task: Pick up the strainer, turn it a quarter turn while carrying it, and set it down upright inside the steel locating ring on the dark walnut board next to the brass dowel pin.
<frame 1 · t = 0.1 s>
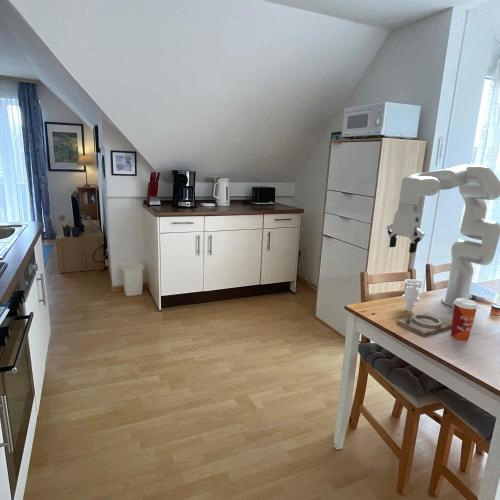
hand: (402, 249, 149), 31 cm above the table, tool pointing down, fingers open, 9 cm apart
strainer: (408, 310, 167), on the table
locating board: (425, 325, 152), on the table
coffee cup: (459, 337, 143), on the table
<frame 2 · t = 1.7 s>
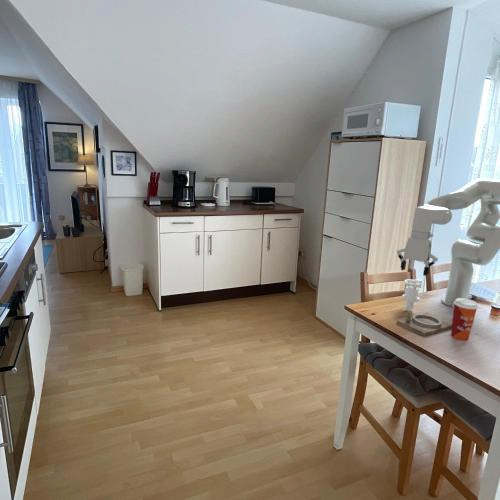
hand: (413, 272, 162), 18 cm above the table, tool pointing down, fingers open, 9 cm apart
nothing on the table moved.
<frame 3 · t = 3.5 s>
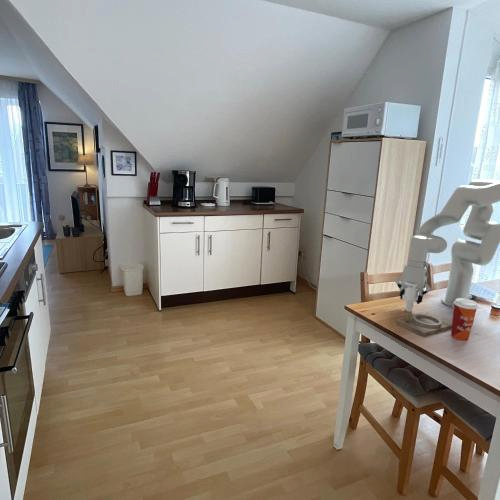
hand: (410, 300, 166), 5 cm above the table, tool pointing down, fingers closed on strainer, 6 cm apart
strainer: (408, 310, 167), on the table, touching gripper
everything else where it was.
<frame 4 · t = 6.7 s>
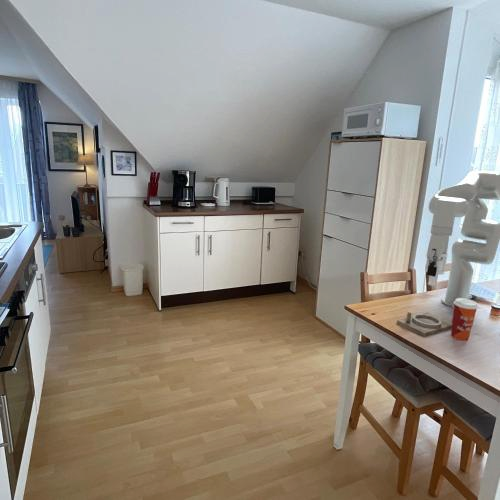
hand: (434, 273, 147), 23 cm above the table, tool pointing down, fingers closed on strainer, 6 cm apart
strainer: (432, 285, 148), point 18 cm above the table, touching gripper
everything else where it was.
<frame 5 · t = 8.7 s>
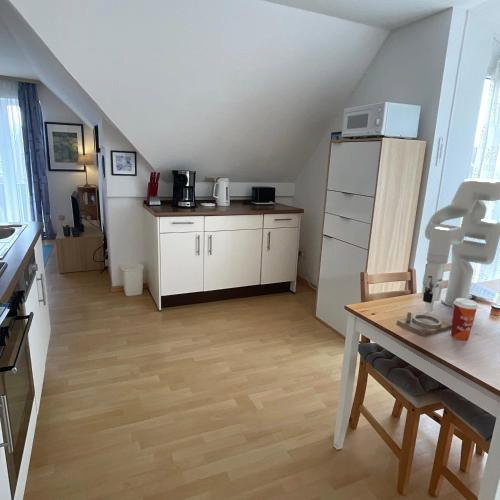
hand: (430, 299, 149), 12 cm above the table, tool pointing down, fingers closed on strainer, 6 cm apart
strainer: (428, 310, 150), point 7 cm above the table, touching gripper
everything else where it was.
when the fingers open (9 cm above the table, at t = 9.9 s): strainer drops 2 cm, resting on locating board.
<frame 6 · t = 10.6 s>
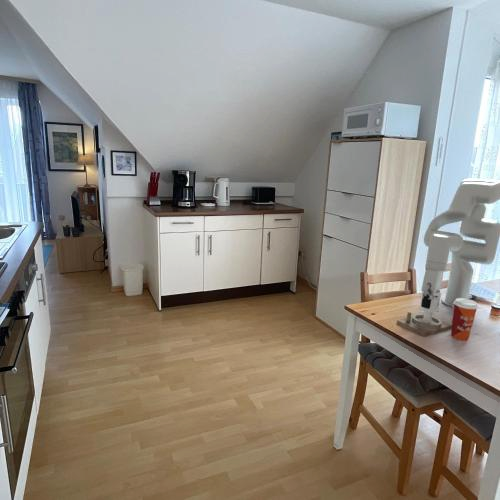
hand: (429, 304, 150), 9 cm above the table, tool pointing down, fingers open, 9 cm apart
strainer: (426, 322, 152), point 1 cm above the table, touching locating board
everything else where it was.
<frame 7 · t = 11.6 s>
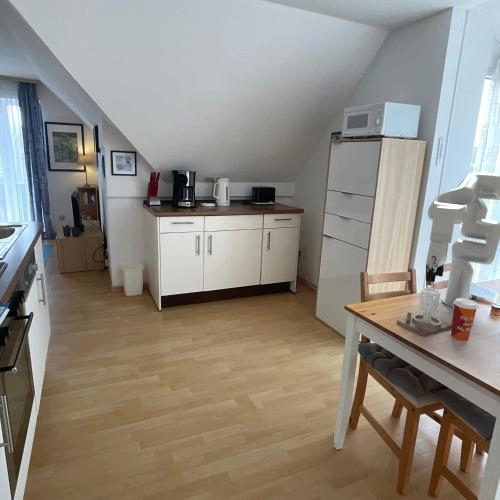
hand: (434, 278, 147), 21 cm above the table, tool pointing down, fingers open, 9 cm apart
nothing on the table moved.
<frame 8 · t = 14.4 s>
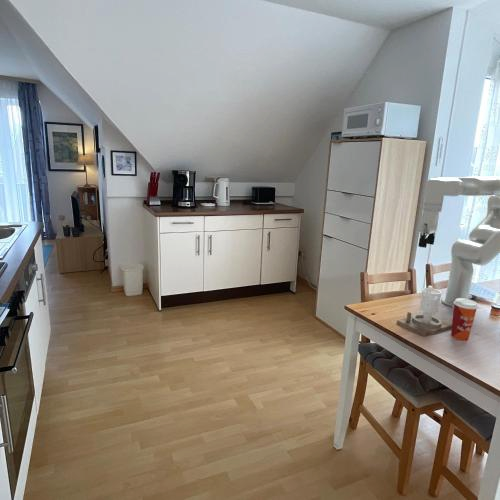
hand: (426, 245, 162), 30 cm above the table, tool pointing down, fingers open, 9 cm apart
nothing on the table moved.
at the end: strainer 0.1 cm off-centre on the locating board, point 1.3 cm above the locating board's base; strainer tilted 0°; the gripper is holding nothing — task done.
